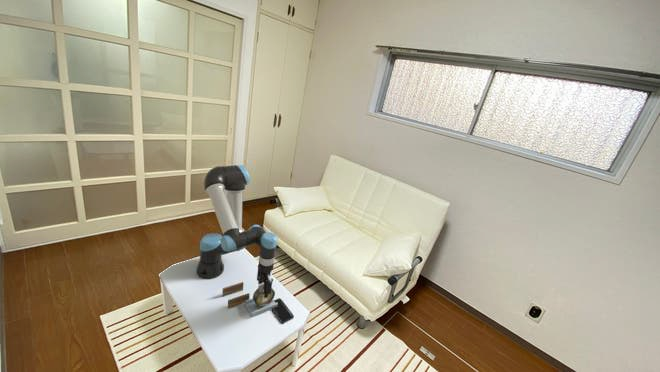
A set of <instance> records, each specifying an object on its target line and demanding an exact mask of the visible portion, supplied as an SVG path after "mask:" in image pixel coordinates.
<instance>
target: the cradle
mask: <svg viewBox="0 0 660 372" xmlns="http://www.w3.org/2000/svg"><path fill="white" fill-rule="evenodd" d="M274 300H275V299H273V300H272V301H273V302H272V301H271V303H269V304H267V305H265V306H261V307H260V306H257V305H256V303H255V302H254V300H253V297H252V298H249V300H246V301H245V303H244V306H245V307H246V310H248V313H249V315H250V316H251V318H254V317H257V316H258V315H261V314H264V313H267V312H268V311H272V310H271V309H272V308H275V307H277V306H278V303H275V301H274ZM256 306H257V307H256ZM255 307H256V308H255Z"/></svg>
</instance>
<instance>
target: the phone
mask: <svg viewBox="0 0 660 372" xmlns="http://www.w3.org/2000/svg"><path fill="white" fill-rule="evenodd" d="M273 300H274V301H275V303H278V306H277V307H275V308H272V309H271V310H270V311H272V312H273V314H274V316H276V318H277V320H278V321H279V322H280V324H285V323H287V322H290V321H291V320H293V319H294V318H295V317H294V316H295V315H294V314H293V312H292V311H291V310H290V309H289V307H288V305H286V302H285V303H284V301H283V300H282V298H281V297H279V298H278V297H277V299H276V298H275V299H273ZM272 302H273V301H272ZM270 303H271V302H270Z"/></svg>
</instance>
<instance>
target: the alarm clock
mask: <svg viewBox="0 0 660 372" xmlns="http://www.w3.org/2000/svg"><path fill="white" fill-rule="evenodd" d="M263 283H264V282H263ZM263 292H264V285H263V284H262V286H261V287H259V288H258V287H257V288H256V290H255V291H254V292H253V295H252V298H253V300H254V302H255V303H256V305H257V306H260V307H261V306H265V305H267V304H269V303H270V302H271V301H272V300H274V298H275V296H276V291H275V290H274V288H273V287H272V288H271V294H268V298H267V301H265V302H262V296H263ZM257 306H256V307H257ZM256 307H255V308H256Z"/></svg>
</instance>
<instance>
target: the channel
mask: <svg viewBox="0 0 660 372" xmlns="http://www.w3.org/2000/svg"><path fill="white" fill-rule="evenodd" d="M242 291H244V281H242V282H238V283H235V284H231V285H228V286H225V287H222V292H221V293H222V297H226V296H229V295H233V294H236V293H239V292H242ZM250 295H251V294H250V293H248V292H247V293H245V294H242V295H239V296H236V297H233V298H229V299H227V309H228V310H230V309H232V308H236V307H237V306H241V305H243V304H244V305H245V301H246V300H249V299H250Z"/></svg>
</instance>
